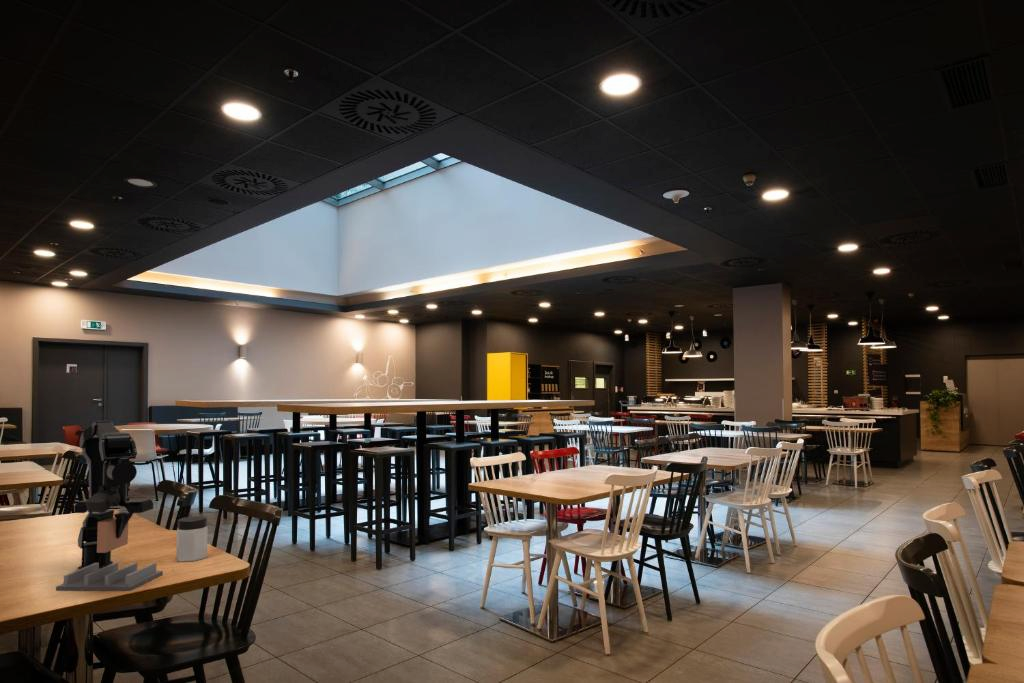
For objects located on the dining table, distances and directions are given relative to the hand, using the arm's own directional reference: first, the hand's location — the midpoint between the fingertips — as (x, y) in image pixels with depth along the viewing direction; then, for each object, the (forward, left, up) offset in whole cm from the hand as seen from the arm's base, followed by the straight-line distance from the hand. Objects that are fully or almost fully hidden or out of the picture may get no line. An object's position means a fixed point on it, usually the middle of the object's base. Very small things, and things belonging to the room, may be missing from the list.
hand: (113, 538), depth 172 cm
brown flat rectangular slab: (0, 0, -3) cm, 3 cm away
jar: (+9, +24, -12) cm, 28 cm away
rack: (0, 0, -12) cm, 12 cm away
